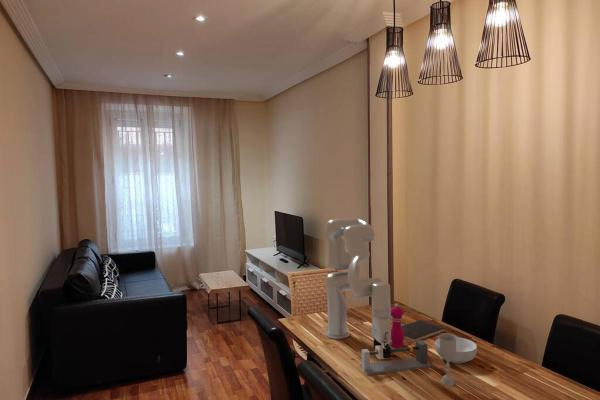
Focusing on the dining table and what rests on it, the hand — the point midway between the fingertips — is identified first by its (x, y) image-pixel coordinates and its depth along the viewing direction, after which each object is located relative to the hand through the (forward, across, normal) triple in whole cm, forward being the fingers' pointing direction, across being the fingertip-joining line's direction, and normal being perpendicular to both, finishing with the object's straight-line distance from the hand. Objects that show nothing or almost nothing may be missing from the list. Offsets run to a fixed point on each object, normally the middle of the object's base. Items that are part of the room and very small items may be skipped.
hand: (382, 353), depth 173 cm
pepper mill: (+7, -20, +16) cm, 27 cm away
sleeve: (+2, 0, 0) cm, 2 cm away
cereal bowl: (+7, 0, +34) cm, 35 cm away
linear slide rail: (+7, 0, +6) cm, 9 cm away
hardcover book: (+7, -33, +33) cm, 47 cm away
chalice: (+7, +16, +20) cm, 27 cm away
